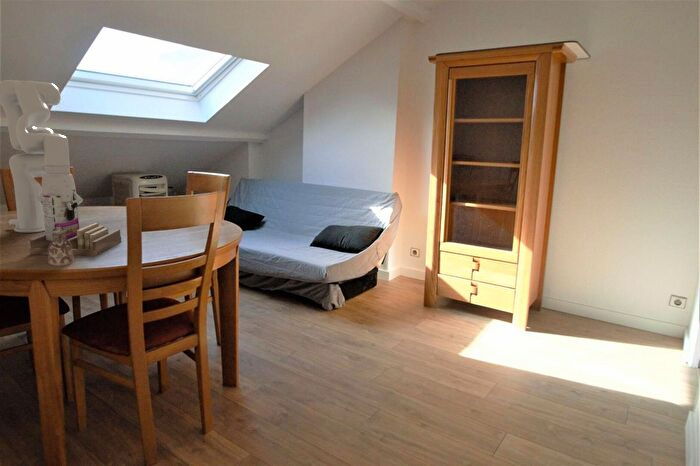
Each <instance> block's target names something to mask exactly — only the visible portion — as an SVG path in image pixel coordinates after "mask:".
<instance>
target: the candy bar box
mask: <svg viewBox="0 0 700 466" xmlns="http://www.w3.org/2000/svg"><path fill="white" fill-rule="evenodd" d="M73 202H74V203H75V202H76V200H75V201H73ZM42 205H43V215H44V225H45V231H44V232H45V233H44V234H45V235H46V240H47V241H52V240H53V236H52V231H53V229H54V228H56V227H57V226H61V227H62V228H64V229H65V230H66V239H69V238H72V237H75V236H77V230H79V229H80V223H79V211H78V206H77V207H76V208H75V209H74V213H75V218H74V220H71V221H68V216H67V210H69V209H68V206H67V204H66V203H62V202H61V198H60V196H56V195H45V196H42Z"/></svg>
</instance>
